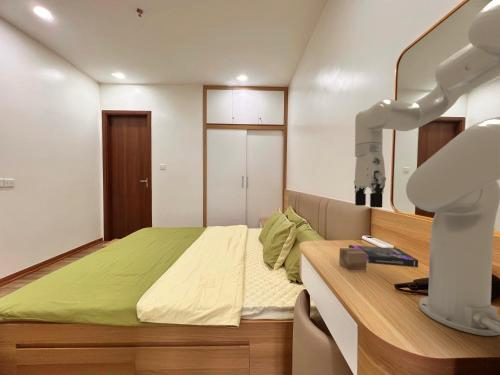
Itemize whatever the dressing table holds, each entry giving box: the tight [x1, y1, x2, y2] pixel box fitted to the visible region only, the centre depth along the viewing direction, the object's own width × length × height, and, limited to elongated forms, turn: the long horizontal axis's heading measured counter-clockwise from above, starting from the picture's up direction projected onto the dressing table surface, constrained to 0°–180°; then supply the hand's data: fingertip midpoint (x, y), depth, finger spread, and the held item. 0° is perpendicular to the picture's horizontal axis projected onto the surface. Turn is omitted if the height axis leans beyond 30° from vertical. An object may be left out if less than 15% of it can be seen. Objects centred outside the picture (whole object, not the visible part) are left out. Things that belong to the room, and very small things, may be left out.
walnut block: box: [338, 247, 368, 273], centre depth 74 cm, size 6×6×6 cm
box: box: [348, 244, 419, 268], centre depth 86 cm, size 14×4×20 cm
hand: (367, 206), depth 68 cm, fingers open, 9 cm apart
